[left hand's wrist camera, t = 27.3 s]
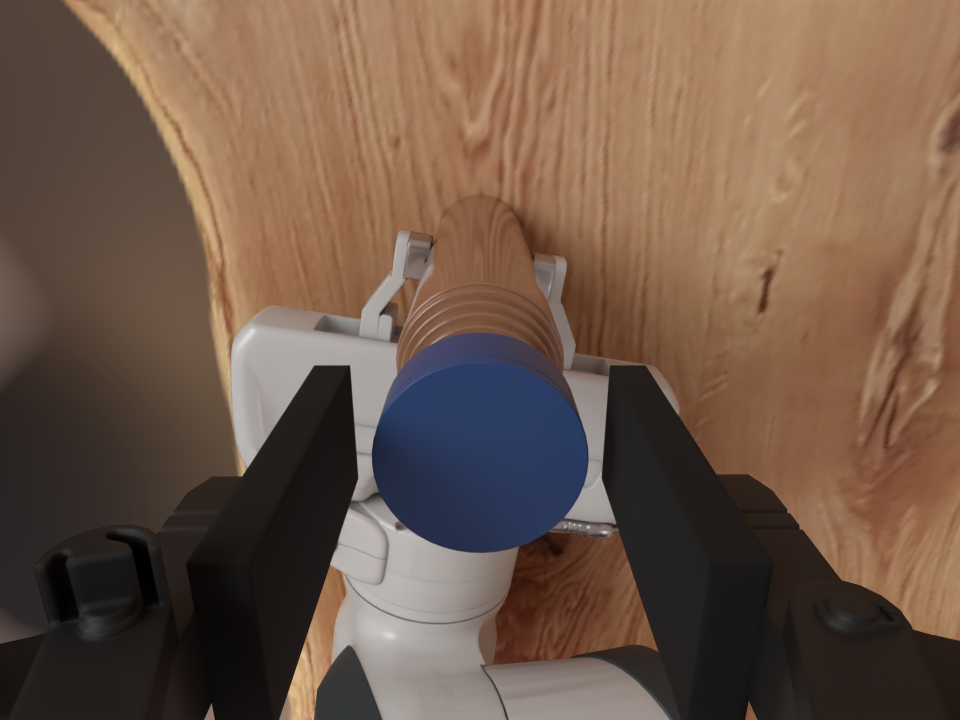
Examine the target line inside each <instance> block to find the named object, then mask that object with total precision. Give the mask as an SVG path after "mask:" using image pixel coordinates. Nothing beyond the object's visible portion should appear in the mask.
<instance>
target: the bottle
mask: <svg viewBox="0 0 960 720" xmlns="http://www.w3.org/2000/svg"><path fill="white" fill-rule="evenodd" d="M477 332H479V333H494V334H500V335H505V336H509V337H512V338H515V339H518V340H520V341H523V342H525V343H527V344H529V345H531V346H532V347H534V348H536V349H537V350H539V351H540V352H542V353H543V354H544V355H545V356H547V357H548V358H549V359H550V360H551V361H552V362H553V363H554V364H555V365H556V366H557V367H558V369H559V370H560V371H561V373H562V374H563V370H564V352H563V345H562V341H561V337H560V335H559V332H558V329H557V326H556V323H555V321H554V318H553V315H552V312H551V309H550V307H549V304H548V301H547V298H546V295H545V292H544V290H543V287H542V284H541V281H540V278H539V276H538V273H537V270H536V267H535V264H534V261H533V259H532V256H531V253H530V250H529V247H528V245H527V242H526V239H525V236H524V233H523V231H522V228H521V225H520V222H519V220H518V218H517V216H516V214H515V213H514V212H513V210H512V209H511V208H510V207H509V206H508V205H506V204H505V203H504V202H502V201H500V200H498V199H496V198H494V197H490V196H484V195H476V196H470V197H466V198H464V199H461V200H459V201H458V202H456V203H455V204H453V205H452V206H451V207H450V208H449V209H448V210H447V211H446V213H445V214H444V216H443V217H442V219H441V222H440V224H439V227H438V230H437V232H436V235H435V238H434V241H433V244H432V247H431V250H430V252H429V255H428V258H427V261H426V264H425V266H424V269H423V272H422V275H421V278H420V281H419V284H418V286H417V289H416V292H415V295H414V298H413V301H412V303H411V306H410V309H409V312H408V315H407V318H406V320H405V323H404V326H403V329H402V332H401V335H400V337H399V342H398V346H397V352H396V369H397V375H398V373H399V371H400V370H401V369H402V368H403V367H404V366H405V364H406V363H407V362H408V361H409V360H410V359H411V358H413V357H414V356H415V355H416V354H417V353H419V352H420V351H422V350H423V349H425V348H426V347H427V346H429V345H431V344H433V343H435V342H437V341H440V340H442V339H445V338H448V337H451V336H455V335H460V334H465V333H477Z"/></svg>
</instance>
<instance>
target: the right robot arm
mask: <svg viewBox="0 0 960 720" xmlns="http://www.w3.org/2000/svg"><path fill="white" fill-rule="evenodd" d="M432 243H433V235H429V234H423V233H418V232H413V231H407V230H400V232H399V233H398V237H397V241H396V247H395V255H394V263H393V269H392V270H391V271H390V273H389V274H388V275H387V276H386V278H385V279H384V280H383V281H382V283H381V284H380V285H379V287H378V288H377V289H376V290H375V292H374V293H373V294H372V295H371V297H370V298H369V300H368V301H367V303H366V305H365V306H364V308H363V310H362V314H361V319H360V318H353V317H347V316H341V315H334V314H328V313H322V312H316V311H309V310H303V309H297V308H290V307H285V306H278V305H271V306H268V307H266V308H264V309H263V310H262V311H260V312H259V313H258V314H256V315H255V316H254V317H252V318H251V319H250V320H249V321H247V323H246V324H245V325H244V326H243V327H242V328H241V329H240V330H239V331H238V333H237V334H236V336H235V338H234V341H233V344H232V351H231V399H232V412H233V422H234V430H235V437H236V443H237V447H238V451H239V454H240V456H241V458H242V460H243V462H244V464H245V465H246V467H247V468H248V467H249V465H250V464H251V462H252V461H253V459H254V458H255V456H256V455H257V453H258V451H259V450H260V448H261V447H262V445H263V444H264V442H265V441H266V439H267V438H268V436H269V434H270V433H271V431H272V430H273V428H274V427H275V425H276V424H277V422H278V421H279V419H280V417H281V416H282V414H283V413H284V411H285V410H286V408H287V407H288V405H289V404H290V402H291V401H292V399H293V397H294V396H295V394H296V393H297V391H298V390H299V388H300V387H301V385H302V384H303V382H304V380H305V379H306V377H307V376H308V374H309V373H310V371H311V370H312V368H313V367H314V365H350V369H351V382H352V396H353V410H354V423H355V437H356V451H357V464H358V481H357V484H356V487H355V491H354V494H353V497H352V500H351V503H350V506H349V509H348V512H347V515H346V518H345V521H344V524H343V527H342V530H341V533H340V536H339V539H338V542H337V545H336V548H335V551H334V554H333V557H332V560H331V563H330V566H332V567H334V568H336V569H338V570H340V571H341V572H342V573H343V579H344V583H345V587H346V596H345V598H344V600H343V602H342V604H341V606H340V609H339V611H338V614H337V618H336V622H335V628H334V638H333V649H332V664H331V666H330V668H329V670H328V672H327V673H326V675H325V677H324V678H323V680H322V682H321V684H320V686H319V687H318V689H317V698H316V707H315V716H314V720H681V718H680V715H679V712H678V709H677V706H676V703H675V700H674V697H673V694H672V691H671V688H670V685H669V682H668V679H667V676H666V673H665V670H664V667H663V664H662V661H661V658H660V655H659V653H658V652H657V651H655V650H653V649H651V648H648V647H645V646H642V645H628V646H623V647H618V648H612V649H607V650H602V651H597V652H591V653H586V654H580V655H576V656H573V657H571V658H568V659H556V660H544V661H532V662H520V663H509V664H497V665H493V661H494V656H495V651H496V644H497V631H496V622H495V618H496V615H497V613H498V611H499V610H500V608H501V607H502V605H503V604H504V602H505V600H506V597H507V595H508V592H509V589H510V585H511V581H512V576H513V572H514V567H515V563H516V558H517V554H518V550H519V547H516V548H513V549H509V550H504V551H499V552H491V553H468V552H461V551H455V550H451V549H448V548H444V547H441V546H438V545H436V544H433V543H431V542H429V541H427V540H425V539H423V538H421V537H419V536H418V535H416V534H415V533H413V532H412V531H410V530H409V529H408V528H407V527H405V526H404V525H403V524H402V523H401V522H400V521H399V520H398V519H397V518H396V517H395V516H394V514H393V513H392V512H391V511H390V510H389V508H388V507H387V505H386V504H385V502H384V500H383V499H382V496H381V494H380V492H379V490H378V488H377V485H376V482H375V478H374V474H373V468H372V446H373V439H374V436H375V432H376V429H377V425H378V422H379V419H380V416H381V413H382V410H383V407H384V404H385V401H386V398H387V394H388V392H389V389H390V387H391V385H392V383H393V381H394V379H395V378H396V376H397V369H396V352H397V346H398V342H399V337H400V335H401V332H402V329H403V326H404V325H397V324H396V321H397V312H398V305H397V303H392V302H389V301H390V300H391V299H392V297H393V296H394V295H395V294H396V292H397V291H398V290H399V288H400V287H401V286H402V285H403V283H404V282H405V281H406V280H407V279H413V280H420V278H421V275H422V272H423V269H424V266H425V264H426V261H427V258H428V255H429V252H430V250H431V247H432ZM531 256H532V259H533V261H534V264H535V267H536V270H537V273H538V276H539V278H540V281H541V284H542V287H543V290H544V292H545V295H546V298H547V301H548V304H549V307H550V309H551V312H552V315H553V318H554V321H555V323H556V326H557V329H558V332H559V335H560V337H561V341H562V345H563V352H564V370H563V376H564V377H565V379H566V381H567V383H568V385H569V386H570V388H571V391H572V394H573V397H574V400H575V403H576V406H577V409H578V412H579V415H580V418H581V421H582V425H583V428H584V431H585V434H586V438H587V444H588V455H589V462H588V470H587V475H586V479H585V483H584V486H583V488H582V491H581V493H580V495H579V497H578V499H577V501H576V502H575V504H574V506H573V507H572V509H571V510H570V511H569V512H568V514H567V515H566V516H565V517H564V518H563V519H562V520H561V521H560V522H559V523H558V524H557V525H556V526H555V527H554V528H552V529H551V530H550V531H548V532H550V533H571V534H579V535H584V537H587V538H592V539H609V538H610V537H611V536H612V533H619V530H618V527H617V525H613V524H616V521H615V518H614V515H613V512H612V509H611V506H610V503H609V500H608V497H607V494H606V491H605V488H604V484H603V481H602V464H603V451H604V437H605V423H606V410H607V396H608V382H609V369H610V365H646V367H647V368H648V370H649V371H650V373H651V374H652V376H653V377H654V379H655V380H656V382H657V384H658V385H659V387H660V388H661V390H662V391H663V393H664V394H665V396H666V397H667V399H668V401H669V402H670V404H671V405H672V407H673V408H674V410H675V411H676V413H677V414H678V416H679V414H680V407H679V402H678V400H677V397H676V395H675V393H674V391H673V390H672V388H671V386H670V384H669V383H668V382H667V380H666V379H665V378H664V376H663V375H662V374H661V373H660V371H659V370H658V369H657V368H656V367H654V366H652V365H648V364H642V363H636V362H629V361H623V360H617V359H611V358H604V357H598V356H592V355H585V354H579V353H574V352H575V348H576V344H575V341H574V338H573V335H572V332H571V329H570V326H569V323H568V320H567V317H566V314H565V311H564V308H563V305H562V302H561V300H560V299H561V295H562V290H563V285H564V281H565V276H566V271H567V261H566V259H565V258H564V257H562V256H556V255H550V254H543V253H537V252H532V254H531Z"/></svg>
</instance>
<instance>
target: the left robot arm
mask: <svg viewBox="0 0 960 720" xmlns="http://www.w3.org/2000/svg"><path fill="white" fill-rule="evenodd" d="M357 481H358V464H357V451H356V437H355V423H354V410H353V396H352V382H351V369H350V365H314V367H313V368H312V370H311V371H310V373H309V374H308V376H307V377H306V379H305V380H304V382H303V384H302V385H301V387H300V388H299V390H298V391H297V393H296V394H295V396H294V397H293V399H292V401H291V402H290V404H289V405H288V407H287V408H286V410H285V411H284V413H283V414H282V416H281V417H280V419H279V421H278V422H277V424H276V425H275V427H274V428H273V430H272V431H271V433H270V434H269V436H268V438H267V439H266V441H265V442H264V444H263V445H262V447H261V448H260V450H259V451H258V453H257V455H256V456H255V458H254V459H253V461H252V462H251V464H250V465H249V467H248V468H247V470H246V472H245V473H244V475H243V476H242V477H211V478H209V479H208V480H206V481H205V482H203V483H202V484H200V485H199V486H197V487H196V488H194V489H193V490H191V491H190V492H188V493H187V495H186V496H185V497H184V498H183V500H182V501H181V502H180V504H179V505H178V506H177V508H176V509H175V510H174V512H173V516H170V517H169V518H168V519H167V521H166V522H165V523H164V525H163V526H162V527H161V532H158V533H157V534H155V533H153V532H152V531H151V530H150V529H149V528H144V527H140V526H136V525H114V526H107V527H102V528H98V529H94V530H90V531H86V532H84V533H81V534H79V535H76V536H74V537H72V538H69V539H67V540H65V541H63V542H61V543H60V544H58V545H57V546H55V547H54V548H52V549H51V550H49V551H48V552H46V553H45V554H44V555H43V556H42V557H41V559H40V560H39V561H38V562H37V563H36V565H35V566H34V567H33V571H34V574H35V578H36V581H37V585H38V588H39V592H40V595H41V599H42V603H43V606H44V609H45V613H46V616H47V620H48V624H49V628H48V630H47V632H46V633H44V634H40V635H37V636H33V637H29V638H25V639H20V640H16V641H11V642H7V643H2V644H0V720H204V719H205V716H206V714H207V712H208V710H209V708H210V705H211V703H212V707H213V712H214V717H215V720H279V718H280V715H281V712H282V709H283V706H284V703H285V700H286V697H287V694H288V691H289V688H290V685H291V682H292V679H293V676H294V673H295V670H296V667H297V664H298V661H299V658H300V655H301V651H302V648H303V645H304V642H305V639H306V636H307V633H308V630H309V627H310V624H311V621H312V618H313V615H314V612H315V609H316V606H317V603H318V600H319V597H320V594H321V591H322V588H323V585H324V582H325V579H326V576H327V573H328V569H329V566H330V563H331V560H332V557H333V554H334V551H335V548H336V545H337V542H338V539H339V536H340V533H341V530H342V527H343V524H344V521H345V518H346V515H347V512H348V509H349V506H350V503H351V500H352V497H353V494H354V491H355V487H356V484H357ZM602 481H603V484H604V488H605V491H606V494H607V497H608V500H609V503H610V506H611V509H612V512H613V515H614V518H615V521H616V524H617V527H618V530H619V533H620V536H621V539H622V542H623V545H624V548H625V551H626V554H627V557H628V560H629V563H630V566H631V570H632V573H633V576H634V579H635V582H636V585H637V588H638V591H639V594H640V597H641V600H642V603H643V606H644V609H645V612H646V615H647V618H648V621H649V624H650V627H651V630H652V633H653V636H654V639H655V642H656V645H657V648H658V652H659V655H660V658H661V661H662V664H663V667H664V670H665V673H666V676H667V679H668V682H669V685H670V688H671V691H672V694H673V697H674V700H675V703H676V706H677V709H678V712H679V715H680V718H681V720H745V717H746V712H747V707H748V701H749V702H750V704H751V706H752V709H753V711H754V713H755V715H756V717H757V720H960V641H958V640H953V639H949V638H944V637H940V636H935V635H930V634H926V633H923V632H919V631H916V630H913V629H912V626H911V624H910V623H909V622H908V620H907V619H906V618H905V616H904V615H903V613H902V612H901V611H900V610H899V609H898V608H897V607H896V606H894V605H893V604H892V603H890V602H889V601H888V600H886V599H885V598H884V597H883V596H881V595H879V594H877V593H875V592H873V591H871V590H869V589H866V588H864V587H862V586H860V585H857V584H853V583H849V582H845V581H842V580H841V579H840V578H839V577H838V575H837V574H836V573H835V571H834V570H833V569H832V567H831V566H830V565H829V564H828V562H827V561H826V560H825V558H824V557H823V556H822V554H821V553H820V552H819V550H818V549H817V548H816V547H815V545H814V544H813V543H812V541H811V540H810V539H809V537H808V536H807V535H806V534H805V532H804V531H803V530H800V529H799V524H798V523H797V522H796V521H795V519H794V518H793V517H792V515H791V514H790V513H787V509H786V507H785V506H784V505H783V504H782V502H781V501H780V500H779V498H778V497H777V496H776V494H775V493H774V492H773V491H772V490H771V489H769V488H768V487H766V486H765V485H763V484H762V483H760V482H759V481H757V480H756V479H754V478H753V477H751V476H750V475H716V473H715V472H714V470H713V468H712V467H711V465H710V464H709V462H708V461H707V459H706V458H705V456H704V455H703V453H702V451H701V450H700V448H699V447H698V445H697V444H696V442H695V441H694V439H693V438H692V436H691V434H690V433H689V431H688V430H687V428H686V427H685V425H684V424H683V422H682V421H681V419H680V418H679V416H678V414H677V413H676V411H675V410H674V408H673V407H672V405H671V404H670V402H669V401H668V399H667V397H666V396H665V394H664V393H663V391H662V390H661V388H660V387H659V385H658V384H657V382H656V380H655V379H654V377H653V376H652V374H651V373H650V371H649V370H648V368H647V367H646V365H610V369H609V382H608V396H607V410H606V423H605V437H604V451H603V464H602Z"/></svg>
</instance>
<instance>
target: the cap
mask: <svg viewBox="0 0 960 720" xmlns="http://www.w3.org/2000/svg"><path fill="white" fill-rule="evenodd" d="M588 462H589V455H588V444H587V438H586V434H585V431H584V428H583V425H582V421H581V418H580V415H579V412H578V409H577V406H576V403H575V400H574V397H573V394H572V391H571V388H570V386H569V385H568V383H567V381H566V379H565V377H564V376H563V374H562V373H561V371H560V370H559V369H558V367H557V366H556V365H555V364H554V363H553V362H552V361H551V360H550V359H549V358H548V357H547V356H545V355H544V354H543V353H542V352H540V351H539V350H537V349H536V348H534V347H532V346H531V345H529V344H527V343H525V342H523V341H520V340H518V339H515V338H512V337H509V336H505V335H500V334H494V333H479V332H477V333H465V334H460V335H455V336H451V337H448V338H445V339H442V340H440V341H437V342H435V343H433V344H431V345H429V346H427V347H426V348H425V349H423V350H422V351H420V352H419V353H417V354H416V355H415V356H414V357H413V358H411V359H410V360H409V361H408V362H407V363H406V364H405V366H404V367H403V368H402V369H401V370H400V371H399V373H398V375H397V376H396V378H395V379H394V381H393V383H392V385H391V387H390V389H389V392H388V394H387V398H386V401H385V404H384V407H383V410H382V413H381V416H380V419H379V422H378V425H377V429H376V432H375V436H374V439H373V446H372V468H373V474H374V478H375V482H376V485H377V488H378V490H379V492H380V494H381V496H382V499H383V500H384V502H385V504H386V505H387V507H388V508H389V510H390V511H391V512H392V513H393V514H394V516H395V517H396V518H397V519H398V520H399V521H400V522H401V523H402V524H403V525H404V526H405V527H407V528H408V529H409V530H410V531H412V532H413V533H415V534H416V535H418V536H419V537H421V538H423V539H425V540H427V541H429V542H431V543H433V544H436V545H438V546H441V547H444V548H448V549H451V550H455V551H461V552H468V553H491V552H499V551H504V550H509V549H513V548H516V547H519V546H522V545H525V544H527V543H529V542H532V541H534V540H536V539H537V538H539V537H541V536H542V535H544V534H546V533H547V532H548V531H550V530H551V529H552V528H554V527H555V526H556V525H557V524H558V523H559V522H560V521H561V520H562V519H563V518H564V517H565V516H566V515H567V514H568V512H569V511H570V510H571V509H572V507H573V506H574V504H575V502H576V501H577V499H578V497H579V495H580V493H581V491H582V488H583V486H584V483H585V479H586V475H587V470H588Z"/></svg>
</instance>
